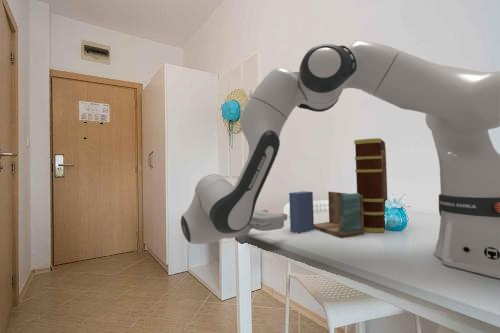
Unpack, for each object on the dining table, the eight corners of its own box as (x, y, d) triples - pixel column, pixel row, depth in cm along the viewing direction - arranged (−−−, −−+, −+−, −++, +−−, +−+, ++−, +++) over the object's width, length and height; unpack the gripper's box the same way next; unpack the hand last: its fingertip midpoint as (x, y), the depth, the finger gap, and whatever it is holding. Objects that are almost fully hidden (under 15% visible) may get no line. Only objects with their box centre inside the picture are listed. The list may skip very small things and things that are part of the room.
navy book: (313, 230, 89) (312, 191, 89) (298, 233, 85) (297, 193, 85) (305, 227, 92) (304, 191, 92) (290, 231, 88) (289, 192, 88)
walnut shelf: (364, 234, 81) (362, 193, 81) (341, 238, 78) (340, 195, 78) (331, 224, 95) (330, 190, 95) (311, 227, 92) (310, 191, 92)
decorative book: (383, 234, 81) (380, 137, 81) (356, 231, 85) (353, 139, 85) (388, 220, 100) (385, 142, 100) (366, 218, 104) (363, 143, 104)
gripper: (258, 214, 66) (298, 208, 73) (221, 206, 83) (257, 201, 91) (259, 239, 66) (299, 230, 73) (222, 225, 83) (258, 219, 91)
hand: (275, 214), depth 82 cm, fingers open, 8 cm apart
